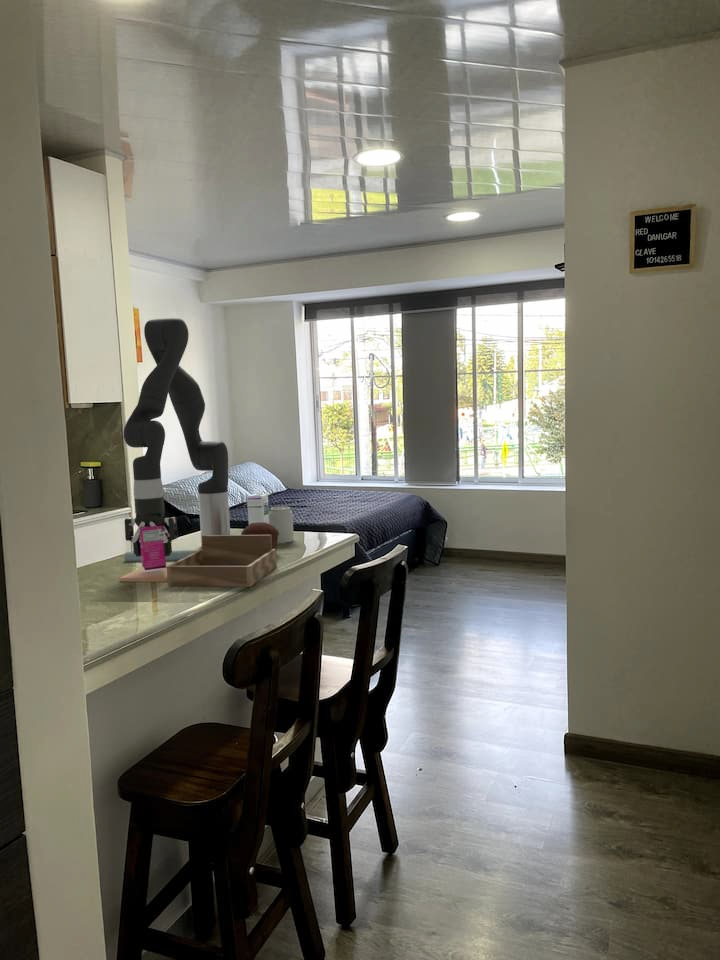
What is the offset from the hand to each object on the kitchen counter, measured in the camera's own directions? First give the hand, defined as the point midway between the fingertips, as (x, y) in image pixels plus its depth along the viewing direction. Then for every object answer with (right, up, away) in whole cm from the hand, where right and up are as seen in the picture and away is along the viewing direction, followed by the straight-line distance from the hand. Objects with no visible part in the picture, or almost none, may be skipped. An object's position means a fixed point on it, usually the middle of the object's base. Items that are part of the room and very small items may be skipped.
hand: (152, 555), depth 200 cm
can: (+31, 0, +39) cm, 50 cm away
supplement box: (0, -3, 0) cm, 3 cm away
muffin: (+26, -3, +21) cm, 34 cm away
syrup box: (+21, +1, +55) cm, 59 cm away
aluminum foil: (-3, -4, +19) cm, 19 cm away
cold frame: (+20, -5, -3) cm, 21 cm away
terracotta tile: (0, -5, 0) cm, 5 cm away
